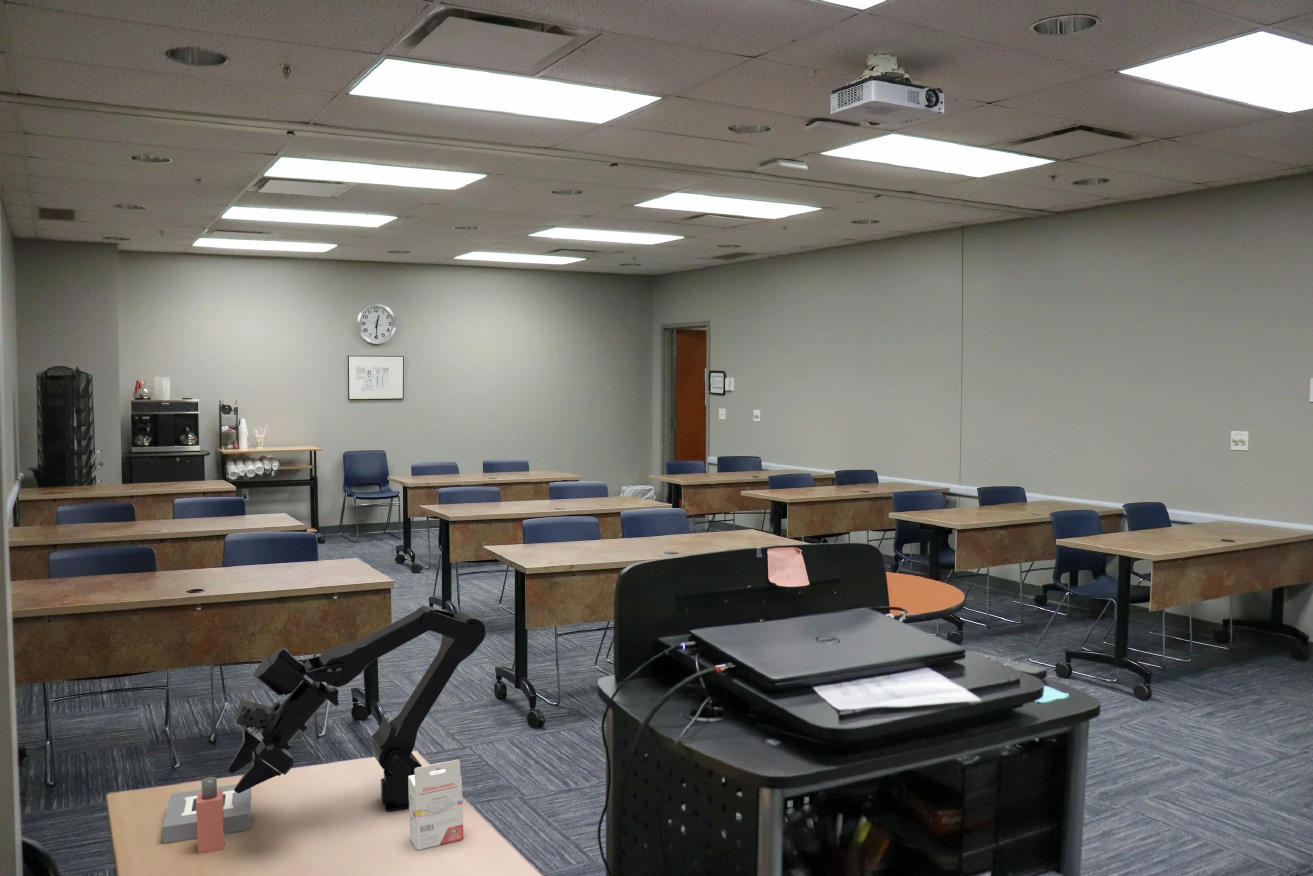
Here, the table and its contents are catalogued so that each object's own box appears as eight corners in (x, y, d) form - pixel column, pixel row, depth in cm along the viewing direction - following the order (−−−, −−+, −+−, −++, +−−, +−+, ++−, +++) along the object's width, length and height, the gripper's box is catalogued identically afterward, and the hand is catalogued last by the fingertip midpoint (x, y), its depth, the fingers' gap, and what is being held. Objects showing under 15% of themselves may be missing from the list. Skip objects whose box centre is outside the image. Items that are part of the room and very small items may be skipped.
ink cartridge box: (456, 828, 176) (454, 749, 175) (464, 840, 172) (462, 759, 170) (408, 839, 172) (406, 758, 171) (415, 851, 168) (413, 769, 167)
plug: (224, 838, 172) (222, 773, 171) (223, 849, 169) (220, 782, 168) (200, 843, 171) (197, 777, 170) (198, 853, 167) (195, 786, 166)
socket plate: (251, 797, 189) (250, 781, 188) (249, 829, 176) (248, 812, 175) (171, 809, 184) (170, 793, 183) (163, 843, 171) (162, 826, 170)
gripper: (255, 669, 180) (191, 738, 175) (271, 700, 164) (201, 776, 159) (300, 703, 185) (239, 772, 180) (320, 736, 169) (254, 812, 164)
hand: (232, 781), depth 171 cm, fingers open, 9 cm apart
